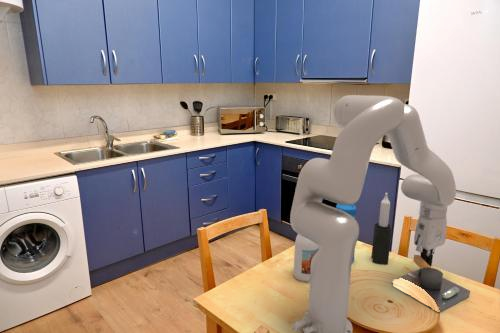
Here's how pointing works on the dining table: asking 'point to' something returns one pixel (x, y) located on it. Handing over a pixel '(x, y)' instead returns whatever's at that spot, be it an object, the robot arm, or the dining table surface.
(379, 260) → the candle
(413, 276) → the base
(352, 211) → the beverage bottle
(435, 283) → the grey rubber mallet
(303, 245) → the milk bottle
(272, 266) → the dining table surface
